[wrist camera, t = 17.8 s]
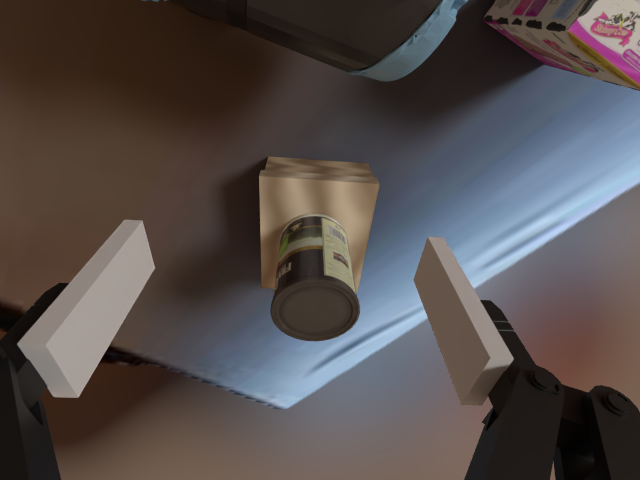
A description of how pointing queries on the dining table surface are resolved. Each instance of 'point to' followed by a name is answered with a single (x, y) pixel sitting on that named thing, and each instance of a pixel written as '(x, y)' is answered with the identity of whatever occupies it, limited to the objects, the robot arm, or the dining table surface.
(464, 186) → the dining table surface
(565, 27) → the candy bar box
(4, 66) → the dining table surface
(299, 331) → the coffee can
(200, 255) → the dining table surface
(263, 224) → the birch shelf
